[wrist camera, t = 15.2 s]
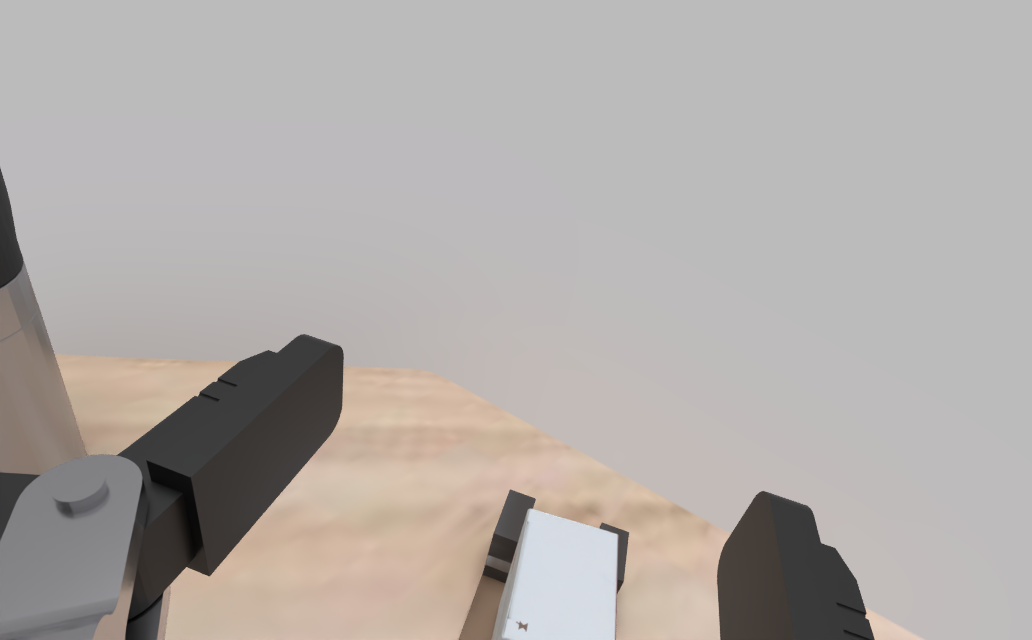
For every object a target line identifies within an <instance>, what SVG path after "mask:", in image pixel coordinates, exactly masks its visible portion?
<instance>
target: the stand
mask: <svg viewBox="0 0 1032 640" xmlns="http://www.w3.org/2000/svg"><path fill="white" fill-rule="evenodd" d="M535 500H536V499H535V498H532V497H529V496H527V495H524V494H521V493H518V492H516V491H513V490H510V491H509V494H508V496H507V499H506V502H505V504H504V507H503V510H502V513H501V515H500V518H499V521H498V523H497V526H496V529H495V531H494V534H493V538H492V542H491V545H490V549H489V553H488V556H487V560H486V564H485V568H484V571H483V575H482V578H481V580H480V583H479V586H478V588H477V591H476V594H475V597H474V599H473V602H472V605H471V608H470V610H469V613H468V616H467V619H466V621H465V624H464V627H463V629H462V632H461V635H460V638H459V640H492V636H493V631H494V627H495V622H496V617H497V613H498V608H499V604H500V600H501V597H502V594H503V590H504V587H505V584H506V581H507V577H508V574H509V571H510V567H511V564H512V561H513V557H514V554H515V551H516V547H517V544H518V541H519V537H520V534H521V531H522V527H523V524H524V521H525V517H526V514H527V511H528V509H533V506H534V503H535ZM599 529H602V530H606V531H609V532H612V533H615V534H617V535H619V537H618V570H617V593H618V591H619V589H620V587H621V586H622V584H623V582H624V573H625V564H626V555H627V546H628V537H629V532H627V531H624V530H621V529H618V528H615V527H613V526H610V525H607V524H604V523H602V524H601V526H600V528H599Z"/></svg>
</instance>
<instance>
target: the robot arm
mask: <svg viewBox="0 0 1032 640" xmlns="http://www.w3.org/2000/svg"><path fill="white" fill-rule="evenodd" d="M343 359H344V357H343V350H342V348H341V347H340V346H338V345H335V344H332V343H329V342H326V341H323V340H321V339H317V338H315V337H312V336H309V335H305V334H303V335H300V336H298V337H296V338H295V339H294V340H292V341H291V342H290V343H289V344H288V345H287V346H285V347H284V348H283V349H282V350H280V351H279V352H278V353H275V352H272V351H269V350H268V351H265V352H263V353H260V354H257V355H255V356H253V357H250V358H247V359H245V360H242V361H240V362H239V363H237V364H236V365H235V366H233V367H232V368H231V369H229V370H228V371H227V372H225V373H224V374H223V375H222V376H220V377H219V378H218V381H217V382H212V383H211V384H210V385H209V386H207V387H206V388H205V389H203V390H202V391H201V392H200V394H199V396H198V397H197V396H194V397H193V398H192V399H190V400H189V401H188V402H186V403H185V404H184V405H182V406H181V407H180V408H179V409H177V410H176V411H175V412H173V413H172V414H171V415H169V416H168V417H167V418H166V419H164V420H163V421H162V422H160V423H159V424H158V425H156V426H155V427H154V428H152V429H151V430H150V431H149V432H147V433H146V434H145V435H143V436H142V437H141V438H139V439H138V440H137V441H136V442H134V443H133V444H132V445H130V446H129V447H128V448H126V449H125V450H124V451H122V452H121V453H119V454H118V455H91V456H87V453H86V450H85V447H84V444H83V441H82V438H81V435H80V432H79V429H78V426H77V422H76V419H75V415H74V412H73V409H72V406H71V403H70V400H69V397H68V394H67V391H66V388H65V385H64V382H63V379H62V376H61V373H60V369H59V366H58V363H57V360H56V357H55V354H54V351H53V348H52V345H51V342H50V339H49V336H48V333H47V330H46V327H45V324H44V321H43V317H42V315H41V311H40V308H39V305H38V303H37V300H36V297H35V294H34V291H33V288H32V285H31V282H30V279H29V275H28V273H27V269H26V266H25V264H24V261H23V257H22V254H21V251H20V248H19V245H18V241H17V238H16V233H15V227H14V221H13V216H12V210H11V205H10V201H9V197H8V192H7V189H6V186H5V182H4V179H3V176H2V172H1V169H0V640H165V633H166V625H167V617H168V609H169V602H170V594H171V587H170V584H171V583H172V582H173V581H174V580H175V579H176V578H177V576H178V575H179V574H180V573H181V572H182V571H183V570H184V569H185V568H186V567H188V568H190V569H193V570H195V571H198V572H200V573H202V574H205V575H207V576H210V575H211V574H212V573H213V572H214V571H215V569H216V568H217V567H218V566H219V565H220V564H221V562H222V561H223V560H224V559H225V558H226V557H227V555H228V554H229V553H230V552H231V551H232V550H233V548H234V547H235V546H236V545H237V544H238V543H239V541H240V540H241V539H242V538H243V537H244V536H245V534H246V533H247V532H248V531H249V530H250V529H251V527H252V526H253V525H254V524H255V523H256V521H257V520H258V519H259V518H260V517H261V516H262V514H263V513H264V512H265V511H266V510H267V509H268V507H269V506H270V505H271V504H272V503H273V502H274V500H275V499H276V498H277V497H278V496H279V495H280V493H281V492H282V491H283V490H284V489H285V488H286V486H287V485H288V484H289V483H290V482H291V481H292V479H293V478H294V477H295V476H296V475H297V474H298V472H299V471H300V470H301V469H302V468H303V467H304V465H305V464H306V463H307V462H308V461H309V459H310V458H311V457H312V456H313V455H314V454H315V452H316V451H317V450H318V449H319V448H320V447H321V445H322V444H323V443H324V442H325V441H326V440H327V438H328V437H329V436H330V435H331V433H332V432H333V430H334V428H335V427H336V424H337V422H338V420H339V417H340V414H341V410H342V395H343ZM717 584H718V602H719V619H720V637H721V640H875V639H874V636H873V633H872V630H871V626H870V623H869V620H868V619H866V618H865V615H866V610H865V607H864V603H863V600H862V597H861V594H860V590H859V587H858V584H857V580H856V579H855V577H854V576H853V574H852V573H851V571H850V570H849V568H848V567H847V565H846V564H845V562H844V561H843V559H842V558H841V556H840V555H839V553H838V552H837V550H836V549H835V548H833V547H830V546H827V545H824V544H822V543H821V542H820V538H819V534H818V530H817V526H816V522H815V518H814V515H813V512H812V510H811V509H810V508H809V507H808V506H806V505H803V504H800V503H797V502H794V501H792V500H789V499H786V498H783V497H780V496H777V495H774V494H771V493H768V492H765V491H762V492H760V493H758V494H757V495H756V497H755V498H754V499H753V501H752V503H751V504H750V506H749V507H748V509H747V510H746V512H745V514H744V515H743V516H742V518H741V520H740V521H739V523H738V524H737V526H736V527H735V529H734V530H733V532H732V534H731V535H730V537H729V538H728V540H727V541H726V543H725V545H724V547H723V550H722V552H721V556H720V560H719V565H718V572H717Z"/></svg>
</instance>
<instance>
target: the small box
mask: <svg viewBox="0 0 1032 640" xmlns="http://www.w3.org/2000/svg"><path fill="white" fill-rule="evenodd" d="M618 537H619V535H617V534H615V533H612V532H609V531H606V530H602V529H599V528H596V527H592V526H589V525H585V524H582V523H579V522H575V521H572V520H569V519H565V518H562V517H558V516H555V515H552V514H548V513H545V512H541V511H538V510H535V509H528V511H527V514H526V517H525V521H524V524H523V527H522V531H521V534H520V537H519V541H518V544H517V547H516V551H515V554H514V557H513V561H512V564H511V567H510V571H509V574H508V577H507V581H506V584H505V587H504V590H503V594H502V597H501V600H500V604H499V608H498V613H497V617H496V622H495V627H494V631H493V636H492V640H616V614H617V570H618Z"/></svg>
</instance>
